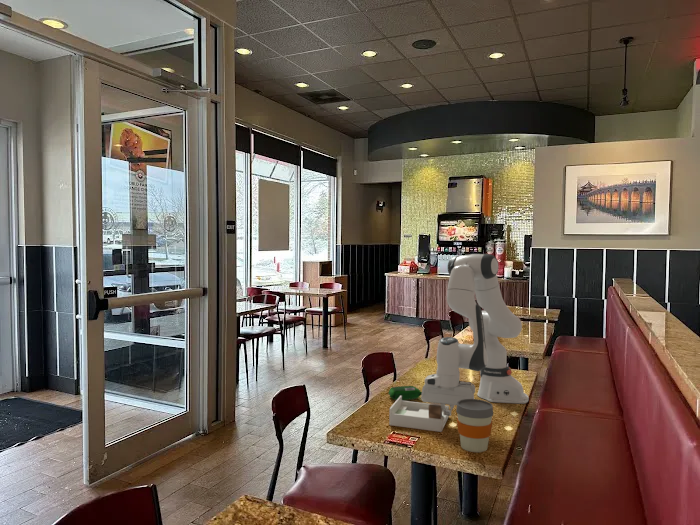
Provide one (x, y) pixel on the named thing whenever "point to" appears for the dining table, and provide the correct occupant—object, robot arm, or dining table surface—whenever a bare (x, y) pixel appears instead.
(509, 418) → the dining table surface
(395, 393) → the snack package
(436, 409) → the walnut cube
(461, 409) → the reusable coffee cup
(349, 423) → the dining table surface
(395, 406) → the box
